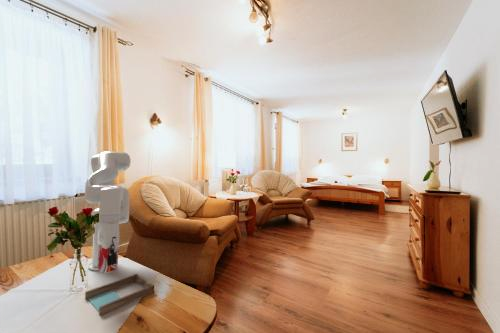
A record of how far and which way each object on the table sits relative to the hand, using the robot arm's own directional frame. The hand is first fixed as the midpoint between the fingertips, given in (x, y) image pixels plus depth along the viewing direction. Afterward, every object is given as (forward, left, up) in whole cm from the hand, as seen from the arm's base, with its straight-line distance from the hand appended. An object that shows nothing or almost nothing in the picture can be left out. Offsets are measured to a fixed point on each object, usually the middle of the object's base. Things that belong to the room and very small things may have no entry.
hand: (108, 261), depth 93 cm
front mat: (0, 0, -16) cm, 16 cm away
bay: (0, +6, -16) cm, 17 cm away
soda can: (0, 0, -4) cm, 4 cm away
